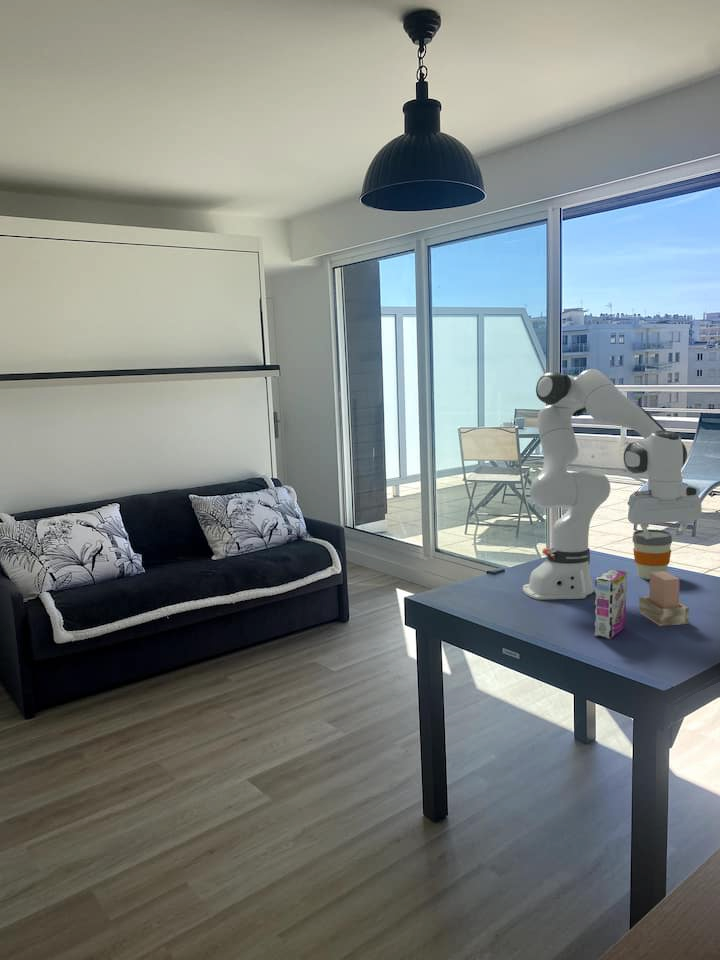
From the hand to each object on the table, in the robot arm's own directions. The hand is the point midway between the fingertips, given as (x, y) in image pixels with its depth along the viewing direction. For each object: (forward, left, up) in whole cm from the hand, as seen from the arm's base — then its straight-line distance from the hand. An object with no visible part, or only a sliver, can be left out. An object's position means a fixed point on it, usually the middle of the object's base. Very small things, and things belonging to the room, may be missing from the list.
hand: (664, 537), depth 206 cm
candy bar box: (-19, -7, -24) cm, 31 cm away
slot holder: (0, 0, -24) cm, 24 cm away
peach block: (0, 0, -23) cm, 23 cm away
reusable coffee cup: (+17, +39, -24) cm, 49 cm away
